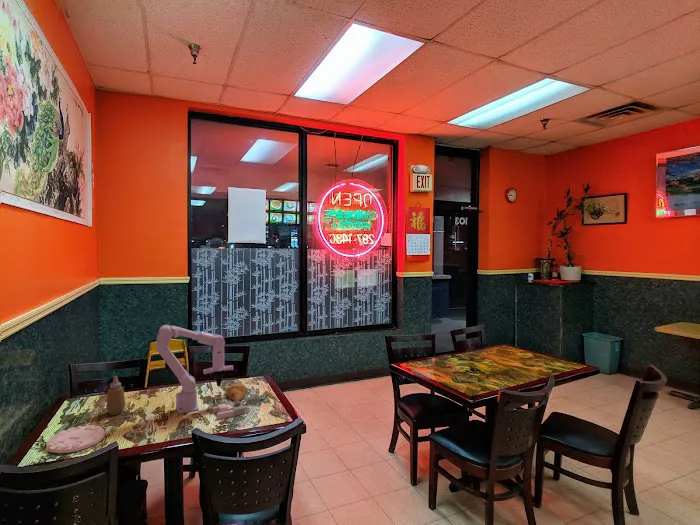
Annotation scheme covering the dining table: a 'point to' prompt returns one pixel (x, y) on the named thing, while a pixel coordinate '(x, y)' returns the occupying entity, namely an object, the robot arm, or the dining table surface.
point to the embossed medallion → (75, 439)
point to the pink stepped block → (224, 407)
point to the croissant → (236, 391)
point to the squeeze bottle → (115, 398)
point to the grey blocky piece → (237, 410)
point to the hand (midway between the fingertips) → (218, 385)
